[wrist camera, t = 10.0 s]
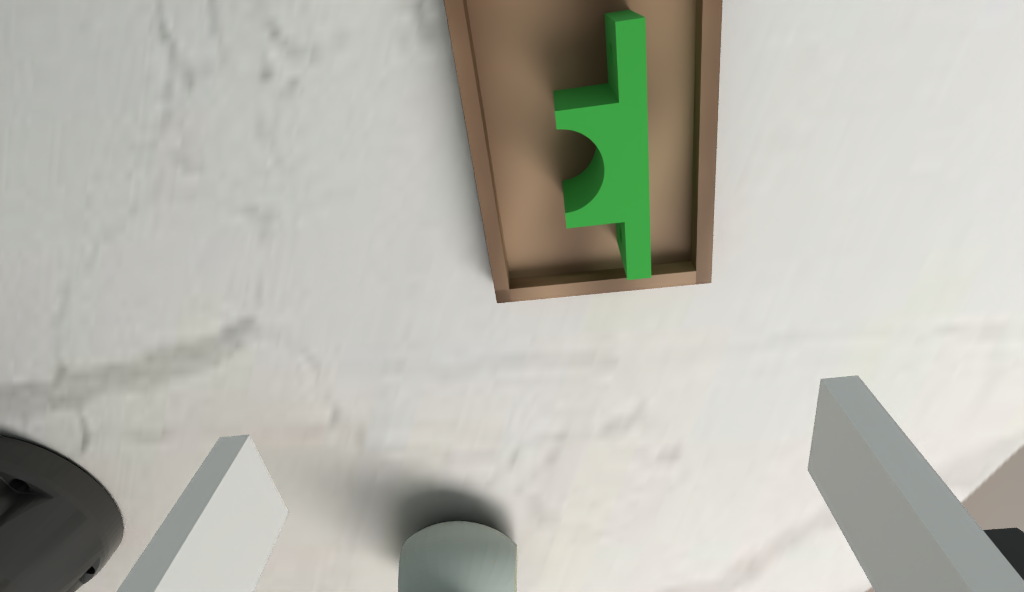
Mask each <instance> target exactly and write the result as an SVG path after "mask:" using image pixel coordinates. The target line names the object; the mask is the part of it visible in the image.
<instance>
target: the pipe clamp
mask: <svg viewBox="0 0 1024 592" xmlns="http://www.w3.org/2000/svg"><path fill="white" fill-rule="evenodd" d="M604 14H605V32H606V50H607V68H608V83H606V84H599V85H592V86H584V87H577V88H570V89H563V90H555V91H553V95H554V108H555V119H556V129H557V130H559V129H566V130H572V131H576V132H579V133H581V134H583V135H585V136H586V137H588V138H589V139H590V140H591V141H592V142H593V143H594V144H595V145H596V150H595V154H594V157H593V159H592V161H591V163H590V164H589V166H588V167H587V168H586V169H585V170H584V171H583V172H582V173H581V174H579V175H578V176H576V177H574V178H571V179H568V180H564V181H562V184H563V195H564V207H565V218H566V228H576V227H585V226H594V225H603V224H612V223H616V233H617V243H618V247H619V251H620V254H621V258H622V262H623V266H624V269H625V273H626V277H627V280H634V279H644V278H651V242H650V198H649V154H648V110H647V66H646V22H645V17H644V16H642V15H640V14H638V13H636V12H634V11H632V10H624V11H617V12H611V13H604Z"/></svg>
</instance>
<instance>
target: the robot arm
mask: <svg viewBox="0 0 1024 592" xmlns="http://www.w3.org/2000/svg"><path fill="white" fill-rule="evenodd" d="M808 471H809V473H810V475H811V477H812V479H813V480H814V482H815V484H816V486H817V488H818V489H819V491H820V493H821V495H822V497H823V498H824V500H825V502H826V504H827V506H828V507H829V509H830V511H831V513H832V515H833V516H834V518H835V520H836V522H837V524H838V525H839V527H840V529H841V531H842V533H843V534H844V536H845V538H846V540H847V542H848V543H849V545H850V547H851V549H852V551H853V552H854V554H855V556H856V558H857V560H858V561H859V563H860V565H861V567H862V569H863V570H864V572H865V574H866V576H867V578H868V579H869V581H870V583H871V585H872V587H873V588H874V590H875V592H1024V533H1023V532H1022V531H1021V530H1019V529H1018V528H1007V529H992V530H982V528H981V527H980V526H979V525H978V524H977V522H976V521H975V520H974V518H973V517H972V516H971V515H970V514H969V512H968V511H967V510H966V509H965V507H964V506H963V505H962V504H961V502H960V501H959V500H958V499H957V497H956V496H955V495H954V494H953V493H952V491H951V490H950V489H949V488H948V486H947V485H946V484H945V483H944V481H943V480H942V479H941V478H940V476H939V475H938V474H937V473H936V472H935V470H934V469H933V468H932V467H931V465H930V464H929V463H928V462H927V460H926V459H925V458H924V457H923V455H922V454H921V453H920V452H919V451H918V449H917V448H916V447H915V446H914V444H913V443H912V442H911V441H910V439H909V438H908V437H907V436H906V434H905V433H904V432H903V431H902V429H901V428H900V427H899V426H898V425H897V423H896V422H895V421H894V420H893V418H892V417H891V416H890V415H889V413H888V412H887V411H886V410H885V408H884V407H883V406H882V405H881V404H880V402H879V401H878V400H877V399H876V397H875V396H874V395H873V394H872V392H871V391H870V390H869V389H868V387H867V386H866V385H865V384H864V383H863V381H862V380H861V379H860V378H859V376H847V377H837V378H827V379H821V381H820V388H819V395H818V402H817V408H816V415H815V422H814V429H813V436H812V443H811V450H810V457H809V464H808ZM288 513H289V512H288V510H287V508H286V506H285V504H284V502H283V500H282V498H281V496H280V494H279V492H278V490H277V488H276V486H275V484H274V482H273V480H272V478H271V476H270V474H269V472H268V470H267V468H266V466H265V464H264V462H263V460H262V458H261V456H260V454H259V452H258V450H257V448H256V446H255V444H254V442H253V440H252V438H251V436H250V435H241V436H231V437H221V438H219V439H218V441H217V442H216V444H215V445H214V447H213V448H212V450H211V451H210V453H209V454H208V456H207V457H206V459H205V460H204V462H203V463H202V465H201V466H200V468H199V469H198V471H197V472H196V474H195V475H194V477H193V478H192V480H191V481H190V483H189V484H188V486H187V487H186V489H185V490H184V492H183V493H182V495H181V496H180V498H179V499H178V501H177V502H176V504H175V505H174V507H173V508H172V510H171V511H170V513H169V514H168V516H167V517H166V519H165V520H164V522H163V523H162V525H161V526H160V528H159V529H158V531H157V532H156V534H155V535H154V537H153V538H152V540H151V541H150V543H149V544H148V546H147V547H146V549H145V550H144V552H143V553H142V555H141V556H140V558H139V559H138V561H137V562H136V564H135V565H134V567H133V568H132V570H131V571H130V573H129V574H128V576H127V577H126V579H125V580H124V582H123V583H122V585H121V586H120V588H119V589H118V591H117V592H254V589H255V587H256V585H257V583H258V580H259V578H260V576H261V574H262V571H263V569H264V567H265V565H266V563H267V560H268V558H269V556H270V554H271V551H272V549H273V547H274V545H275V542H276V540H277V538H278V536H279V534H280V531H281V529H282V527H283V525H284V522H285V520H286V518H287V516H288ZM122 537H123V522H122V518H121V515H120V512H119V510H118V508H117V506H116V505H115V503H114V502H113V500H112V499H111V497H110V496H109V495H108V493H107V492H106V491H105V490H104V489H103V488H102V487H101V486H100V485H99V484H98V483H97V482H96V481H95V480H94V479H93V478H91V477H90V476H89V475H88V474H86V473H85V472H84V471H82V470H81V469H80V468H78V467H77V466H75V465H74V464H72V463H70V462H69V461H67V460H65V459H64V458H62V457H60V456H58V455H56V454H54V453H52V452H50V451H48V450H45V449H43V448H40V447H38V446H35V445H33V444H30V443H27V442H24V441H20V440H17V439H13V438H8V437H3V436H0V592H75V591H76V590H77V589H78V588H80V587H81V586H82V585H83V584H85V583H86V582H88V581H89V580H90V579H92V578H93V577H94V576H95V575H96V574H97V573H98V572H99V571H100V570H101V569H102V568H103V567H104V565H105V564H106V563H107V561H108V560H109V559H110V557H111V556H112V554H113V553H114V552H115V550H116V549H117V548H118V546H119V545H120V543H121V540H122Z"/></svg>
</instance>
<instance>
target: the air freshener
mask: <svg viewBox="0 0 1024 592" xmlns="http://www.w3.org/2000/svg"><path fill="white" fill-rule="evenodd" d="M516 590H517V545H516V544H515V543H514V542H513V541H512V540H511V539H510V538H508V537H507V536H506V535H504V534H503V533H501V532H499V531H497V530H496V529H493V528H491V527H488V526H486V525H482V524H479V523H474V522H467V521H450V522H443V523H438V524H434V525H431V526H428V527H426V528H424V529H422V530H420V531H418V532H416V533H415V534H413V535H412V536H411V537H409V538H408V539H407V540H406V541H405V542H404V544H403V547H402V550H401V555H400V562H399V576H398V592H516Z"/></svg>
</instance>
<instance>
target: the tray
mask: <svg viewBox="0 0 1024 592" xmlns="http://www.w3.org/2000/svg"><path fill="white" fill-rule="evenodd" d="M444 3H445V9H446V15H447V20H448V26H449V32H450V37H451V43H452V49H453V55H454V60H455V66H456V72H457V77H458V83H459V89H460V95H461V100H462V106H463V112H464V117H465V123H466V129H467V134H468V140H469V146H470V152H471V157H472V163H473V169H474V174H475V180H476V186H477V192H478V197H479V203H480V209H481V214H482V220H483V226H484V231H485V237H486V243H487V249H488V254H489V260H490V266H491V271H492V277H493V283H494V289H495V294H496V300H497V303H504V302H515V301H525V300H536V299H546V298H557V297H567V296H578V295H588V294H599V293H610V292H620V291H631V290H641V289H652V288H662V287H673V286H683V285H694V284H704V283H711V275H712V250H713V224H714V199H715V174H716V149H717V124H718V98H719V73H720V48H721V23H722V0H444ZM624 10H632V11H634V12H636V13H638V14H640V15H642V16H644V17H645V22H646V66H647V110H648V154H649V198H650V242H651V278H644V279H634V280H627V277H626V273H625V269H624V266H623V262H622V258H621V254H620V251H619V247H618V243H617V233H616V223H612V224H603V225H594V226H585V227H576V228H566V218H565V207H564V195H563V184H562V181H564V180H568V179H571V178H574V177H576V176H578V175H579V174H581V173H582V172H583V171H584V170H585V169H586V168H587V167H588V166H589V164H590V163H591V161H592V159H593V157H594V154H595V150H596V145H595V144H594V143H593V142H592V141H591V140H590V139H589V138H588V137H586V136H585V135H583V134H581V133H579V132H576V131H572V130H566V129H559V130H557V129H556V119H555V108H554V95H553V91H555V90H563V89H570V88H577V87H584V86H592V85H599V84H606V83H608V68H607V50H606V32H605V14H604V13H611V12H617V11H624Z"/></svg>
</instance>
